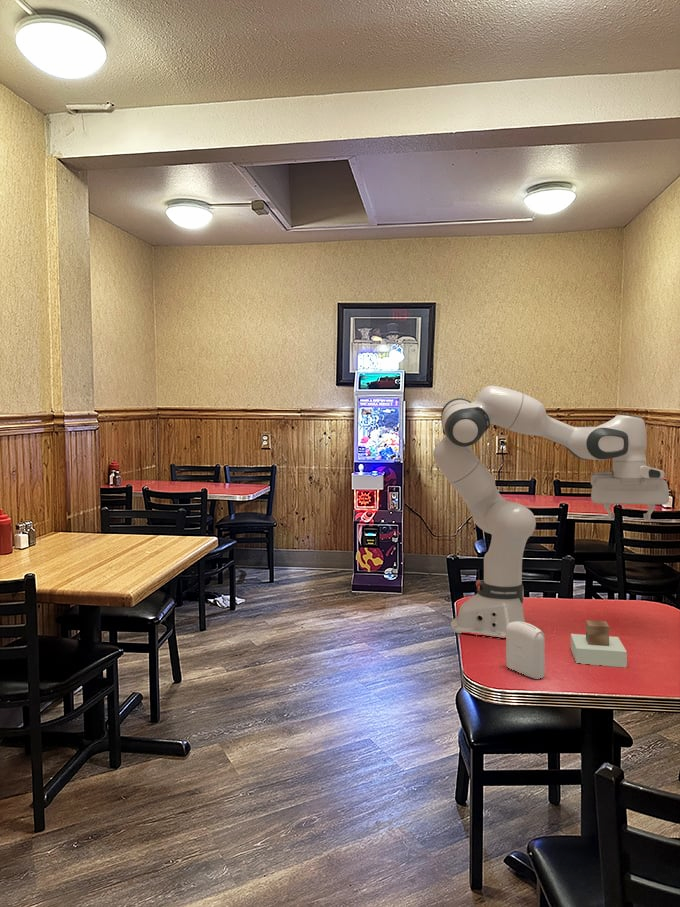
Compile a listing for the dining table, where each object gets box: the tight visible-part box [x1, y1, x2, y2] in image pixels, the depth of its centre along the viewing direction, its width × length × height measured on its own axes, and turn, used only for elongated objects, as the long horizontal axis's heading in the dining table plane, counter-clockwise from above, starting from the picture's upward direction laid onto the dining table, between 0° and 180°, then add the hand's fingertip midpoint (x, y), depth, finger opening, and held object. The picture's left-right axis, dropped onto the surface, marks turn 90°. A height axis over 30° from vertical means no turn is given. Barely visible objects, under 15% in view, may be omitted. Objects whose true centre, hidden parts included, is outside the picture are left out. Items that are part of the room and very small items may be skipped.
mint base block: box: [570, 633, 628, 669], centre depth 167 cm, size 12×12×4 cm
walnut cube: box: [585, 619, 610, 646], centre depth 167 cm, size 5×5×5 cm
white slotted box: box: [505, 621, 546, 680], centre depth 156 cm, size 10×4×12 cm, turn 32°
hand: (629, 519), depth 181 cm, fingers open, 8 cm apart
